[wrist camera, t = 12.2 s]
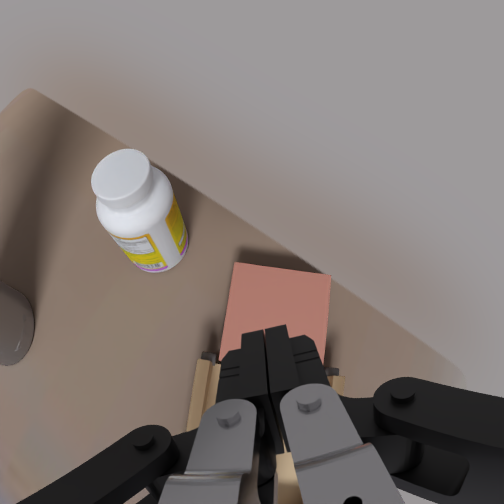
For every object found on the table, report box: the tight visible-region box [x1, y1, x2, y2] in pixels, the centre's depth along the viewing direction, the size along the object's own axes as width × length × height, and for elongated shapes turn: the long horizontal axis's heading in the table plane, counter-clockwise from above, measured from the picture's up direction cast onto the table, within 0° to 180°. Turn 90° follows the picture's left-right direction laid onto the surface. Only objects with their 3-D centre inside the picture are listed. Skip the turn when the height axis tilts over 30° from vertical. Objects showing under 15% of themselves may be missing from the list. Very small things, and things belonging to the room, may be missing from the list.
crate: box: [186, 352, 345, 504], centre depth 24 cm, size 12×15×4 cm
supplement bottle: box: [91, 149, 188, 272], centre depth 27 cm, size 7×7×13 cm
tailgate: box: [219, 262, 331, 364], centre depth 29 cm, size 9×1×9 cm
